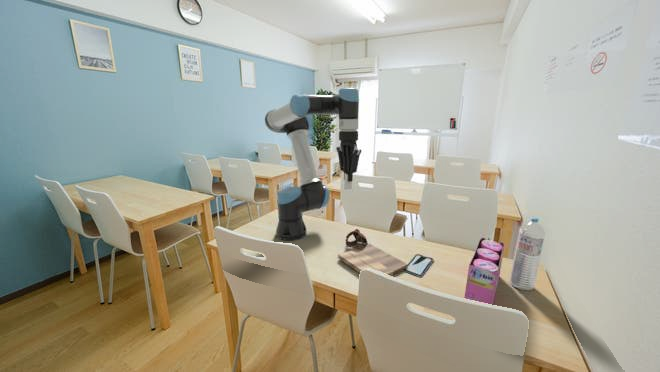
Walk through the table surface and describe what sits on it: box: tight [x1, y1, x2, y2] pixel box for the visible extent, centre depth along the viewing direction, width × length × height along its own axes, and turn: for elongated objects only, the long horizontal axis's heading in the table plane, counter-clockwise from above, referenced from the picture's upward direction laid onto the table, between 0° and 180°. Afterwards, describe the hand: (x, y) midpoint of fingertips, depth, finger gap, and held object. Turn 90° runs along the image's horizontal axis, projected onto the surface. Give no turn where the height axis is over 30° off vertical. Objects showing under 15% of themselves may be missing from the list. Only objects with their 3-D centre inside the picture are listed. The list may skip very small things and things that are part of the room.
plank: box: [337, 248, 394, 277], centre depth 105 cm, size 21×10×2 cm, turn 36°
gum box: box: [463, 237, 505, 305], centre depth 91 cm, size 24×8×14 cm, turn 143°
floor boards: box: [356, 243, 408, 276], centre depth 111 cm, size 21×8×2 cm, turn 36°
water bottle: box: [509, 217, 546, 292], centre depth 90 cm, size 7×7×25 cm
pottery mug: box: [345, 228, 369, 248], centre depth 123 cm, size 12×10×8 cm
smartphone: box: [403, 253, 434, 278], centre depth 106 cm, size 7×1×15 cm
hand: (348, 188), depth 111 cm, fingers closed
